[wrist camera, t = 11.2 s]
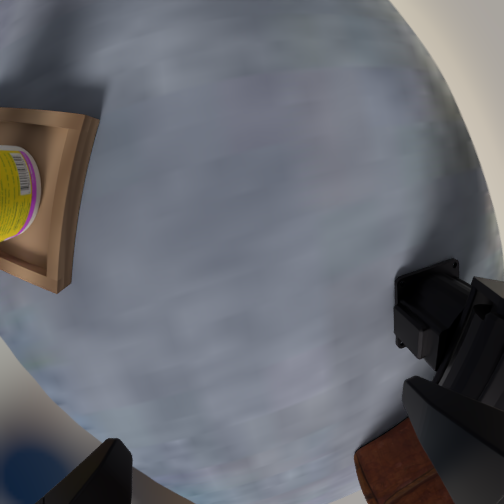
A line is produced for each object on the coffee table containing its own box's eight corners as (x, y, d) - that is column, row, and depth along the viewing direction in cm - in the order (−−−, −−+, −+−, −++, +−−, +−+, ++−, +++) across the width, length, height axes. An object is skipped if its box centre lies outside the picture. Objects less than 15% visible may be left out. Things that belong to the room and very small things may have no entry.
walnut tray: (99, 119, 17) (85, 114, 14) (70, 283, 19) (56, 294, 17) (-6, 109, 15) (-22, 106, 13) (-24, 243, 18) (-39, 249, 16)
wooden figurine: (364, 468, 27) (407, 578, 10) (344, 452, 26) (392, 583, 8) (444, 415, 26) (513, 513, 9) (435, 391, 25) (520, 505, 7)
